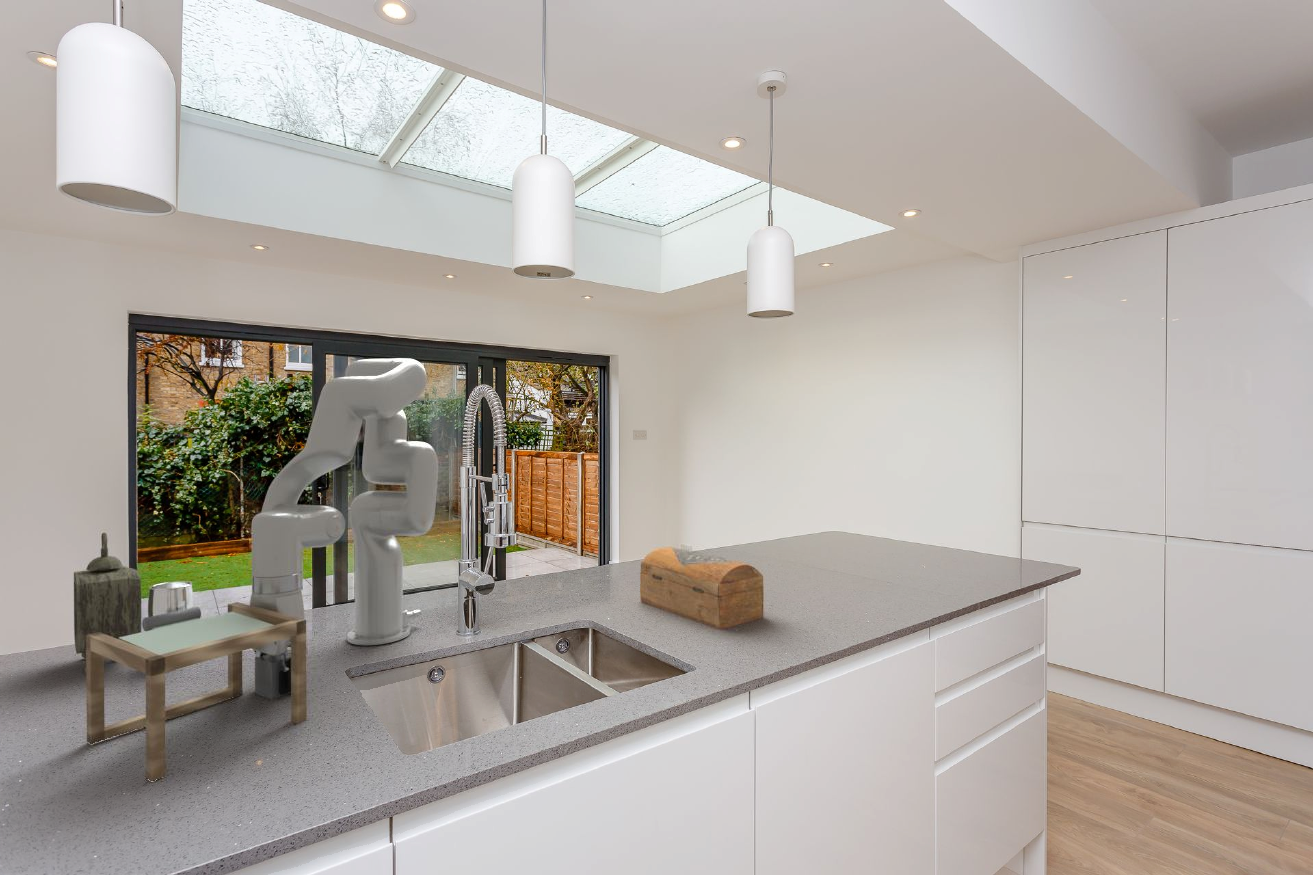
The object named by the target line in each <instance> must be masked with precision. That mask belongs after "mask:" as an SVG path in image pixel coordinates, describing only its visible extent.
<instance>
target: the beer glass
mask: <svg viewBox="0 0 1313 875" xmlns="http://www.w3.org/2000/svg"><path fill="white" fill-rule="evenodd" d="M194 604H195V603H194V591H193V582H192V581H189V580H176V581H168V582H163V583H162V582H161V583H156V584H153V585H151V586H149V590H148V597H147V617H151V616H156V615H161V614H166V613H170V612H175V611H180V610H184V609H189V608H194V607H195V606H194Z"/></svg>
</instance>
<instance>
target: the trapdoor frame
mask: <svg viewBox="0 0 1313 875" xmlns="http://www.w3.org/2000/svg"><path fill="white" fill-rule="evenodd" d="M228 612H235V613H238V614H241V615H244V616H247V617H251V618H254V619H257V620H260V621H263V622H266V623H269V624H272V625H273V626H269V627H265V628H262V629H258V630H254V631H250V632H246V633H242V634H238V635H235V636H231V637H227V638H223V639H219V640H215V641H212V642H208V643H204V644H200V645H196V646H192V647H188V648H185V649H181V650H177V651H173V652H169V653H165V654H161V655H158V654H155V653H153V652H150V651H148V650H145V649H142V648H140V647H137V646H134V645H132V644H129V643H127V642H124V641H121V640H119V639H116V638H113V637H111V636H108V635H106V634H103V633H100V632H98V633H93V634H88V635H86V658H85V660H86V661H85V667H86V672H85V673H86V674H85V677H86V678H85V679H86V681H85V682H86V686H85V687H86V690H85V691H86V693H85V694H86V743H87V742H89V743H90V744H93V743H95V742H99V741H101V740H105V739H107V738H111V737H113V736H117V735H120V734H124V733H127V732H131V731H133V730H135V729H139V730H141V729H140V728H142V727H145V726H146V727H145V751H146V753H145V756H146V757H145V758H146V760H145V764H146V766H145V767H146V770H145V771H146V774H145V775H146V776H145V777H146V778H147V779H149V780H150V781H154V782H156V781H155V780H156V779H159V780H161V779H160V778H162V777H164V778H166V777H165V776H166V774H167V773H166V772H167V771H166V769H167V768H166V766H167V765H166V762H167V761H166V751H167V750H166V721H168V720H167V719H169V720H172V719H175V718H177V717H176V716H178V717H180V715H181V716H183V715H182V714H184V715H186V714H190V713H193V712H195V710H196V711H199V710H201V708H202V709H204V708H206V707H210V706H213V705H216V704H220V703H221V702H220V701H222V702H225V701H227V700H226V699H228V700H230V699H229V698H231V699H233V698H232V697H234V698H236V696H237V697H239V696H238V695H240V696H242V695H243V652H244V651H246V650H250V649H251V648H254V647H258V646H261V645H265V644H268V643H272V642H275V641H279V640H282V639H286V638H289V637H291V647H290V650H291V694H290V697H291V698H290V709H291V710H290V712H291V713H290V714H291V716H290V718H291V719H290V720H291V722H292V723H294V724H297V725H298V724H300V723H302V722H305V721H307V720H308V716H307V711H308V709H307V704H308V703H307V702H308V701H307V697H308V696H307V692H308V690H307V654H306V647H307V619H306V618H305V619H301V618H297V617H293V616H289V615H285V614H282V613H278V612H274V611H270V610H266V609H262V608H258V607H254V606H250V604H246V603H242V602H239V601H236V602H231V603H227V613H228ZM225 656H227V687H224V688H221V689H218V690H215V691H212V692H209V693H206V694H203V695H199V696H196V697H193V698H190V699H187V700H184V701H180V702H177V703H175V704H171V705H169V706H166V673H168V672H172V671H176V670H179V669H182V668H186V667H190V666H193V665H197V664H201V663H203V662H207V661H211V660H215V659H218V658H221V657H225ZM105 658H107V659H109V660H112V661H113V662H115V663H117V664H120V665H123V666H125V667H128V668H130V669H133V670H134V671H137V672H139V673H142V674H144V675H145V713H143V714H141V715H138V716H135V717H132V718H128V719H125V720H122V721H118V722H116V723H112V724H109V725H106V726H105ZM224 700H225V701H224ZM189 712H190V713H189ZM174 717H175V718H174ZM171 718H172V719H171ZM165 720H166V721H165ZM142 729H143V728H142ZM131 733H132V732H131ZM147 779H146V780H147ZM162 779H163V778H162ZM149 780H148V781H149ZM150 781H149V782H150Z"/></svg>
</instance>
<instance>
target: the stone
mask: <svg viewBox="0 0 1313 875" xmlns="http://www.w3.org/2000/svg"><path fill="white" fill-rule="evenodd" d="M286 651H288V650H286ZM286 657H287V662H288V660H289V659H290V657H291V654H288V655H286ZM279 671H282V668H281V663H280V659H279V656H272V655H268V654H267V655H264V656H261V657H257V658H255V657H254V693H255V694H256V693H258V694H257V695H259V694H260V695H259V696H262V695H263V696H262V697H264V696H265V698H267V697H268V699H269V698H270V700H273V698H274V699H276V698H278V697H282V696H283V695H280V694H279Z"/></svg>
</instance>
